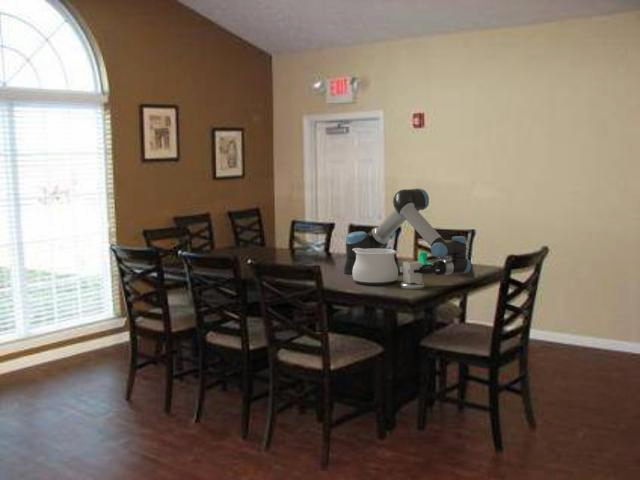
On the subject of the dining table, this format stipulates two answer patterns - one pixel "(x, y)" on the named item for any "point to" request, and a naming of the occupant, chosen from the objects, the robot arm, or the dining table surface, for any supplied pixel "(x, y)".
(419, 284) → the hub plate
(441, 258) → the passion flower
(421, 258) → the camera mount
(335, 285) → the dining table surface
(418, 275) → the box with orange strip
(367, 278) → the pot
